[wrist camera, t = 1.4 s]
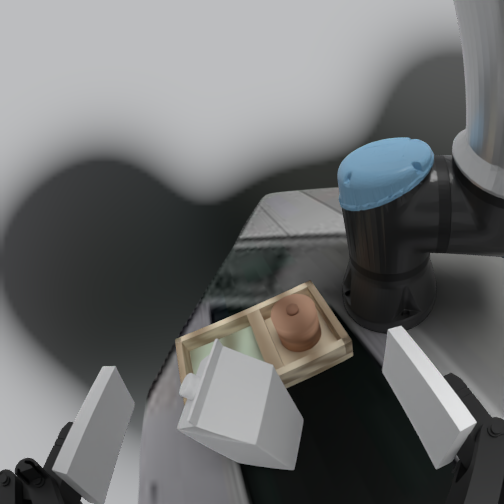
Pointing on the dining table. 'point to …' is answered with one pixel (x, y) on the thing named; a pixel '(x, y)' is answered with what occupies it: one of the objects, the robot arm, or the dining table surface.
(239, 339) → the caddy
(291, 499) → the dining table surface
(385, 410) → the dining table surface
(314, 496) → the dining table surface
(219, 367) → the milk carton
